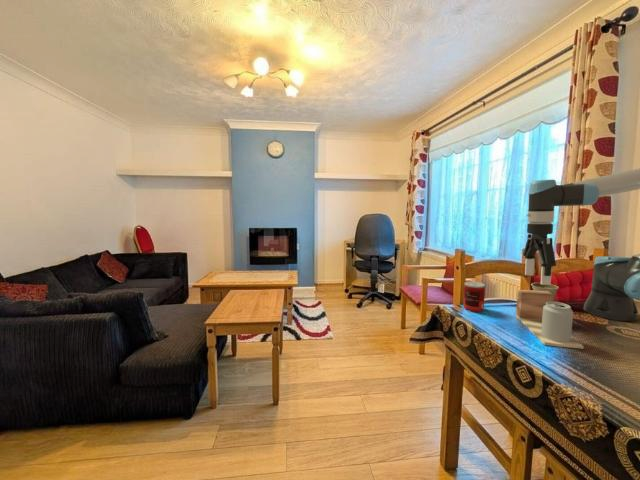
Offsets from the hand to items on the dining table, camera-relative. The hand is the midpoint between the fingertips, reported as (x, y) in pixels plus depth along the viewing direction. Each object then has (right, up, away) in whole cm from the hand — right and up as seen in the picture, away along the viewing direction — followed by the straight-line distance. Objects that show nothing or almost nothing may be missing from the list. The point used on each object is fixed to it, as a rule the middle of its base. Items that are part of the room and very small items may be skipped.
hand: (536, 279), depth 108 cm
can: (-5, -18, -14) cm, 23 cm away
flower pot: (+16, -14, +17) cm, 27 cm away
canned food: (-16, -15, +14) cm, 26 cm away
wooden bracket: (-3, -17, -7) cm, 19 cm away
